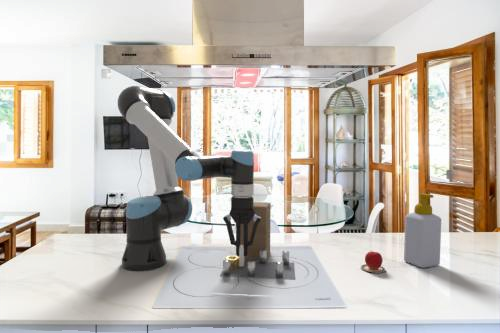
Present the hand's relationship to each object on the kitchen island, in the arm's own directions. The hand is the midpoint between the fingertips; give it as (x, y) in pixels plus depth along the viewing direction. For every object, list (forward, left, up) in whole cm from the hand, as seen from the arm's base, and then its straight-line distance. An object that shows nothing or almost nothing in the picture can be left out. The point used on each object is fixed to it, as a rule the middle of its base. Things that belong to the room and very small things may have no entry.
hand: (241, 264), depth 121 cm
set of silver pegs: (+6, 0, -2) cm, 6 cm away
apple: (+45, +5, -2) cm, 45 cm away
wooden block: (+3, +15, -2) cm, 16 cm away
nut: (-3, 0, -1) cm, 3 cm away
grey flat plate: (+6, 0, -2) cm, 6 cm away
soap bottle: (+63, +13, -2) cm, 65 cm away
